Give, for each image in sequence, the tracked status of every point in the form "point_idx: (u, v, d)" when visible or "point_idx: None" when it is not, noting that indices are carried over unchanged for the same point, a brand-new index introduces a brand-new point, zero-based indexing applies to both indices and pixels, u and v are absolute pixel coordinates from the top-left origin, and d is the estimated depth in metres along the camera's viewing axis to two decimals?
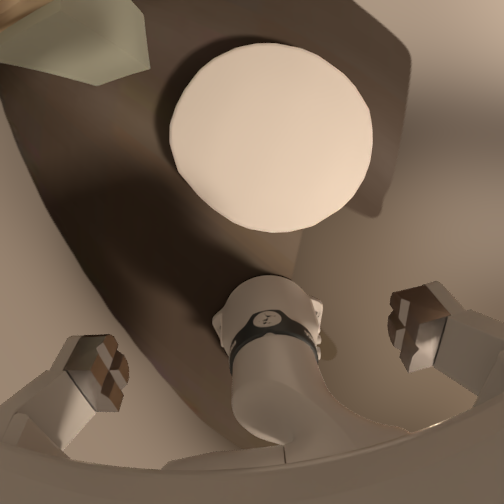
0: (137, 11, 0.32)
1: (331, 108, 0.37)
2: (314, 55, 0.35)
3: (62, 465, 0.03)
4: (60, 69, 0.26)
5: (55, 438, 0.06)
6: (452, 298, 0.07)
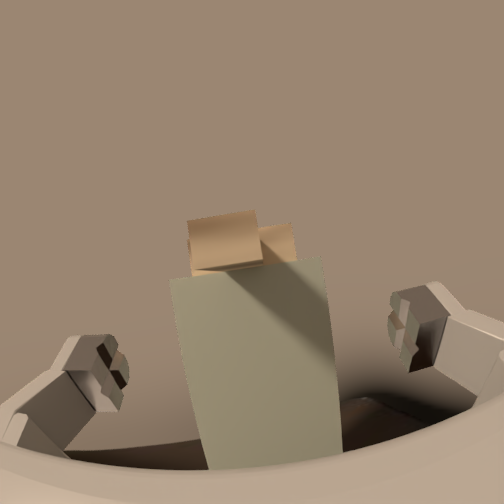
0: None
1: None
2: None
3: (62, 465, 0.03)
4: None
5: (55, 438, 0.06)
6: (452, 298, 0.07)
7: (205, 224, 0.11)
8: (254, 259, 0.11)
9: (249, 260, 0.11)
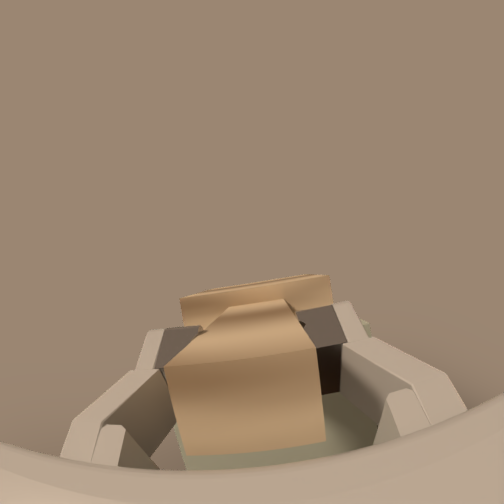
0: None
1: None
2: None
3: (62, 465, 0.03)
4: None
5: (142, 447, 0.06)
6: (360, 321, 0.07)
7: (204, 376, 0.05)
8: (309, 443, 0.05)
9: (299, 443, 0.05)
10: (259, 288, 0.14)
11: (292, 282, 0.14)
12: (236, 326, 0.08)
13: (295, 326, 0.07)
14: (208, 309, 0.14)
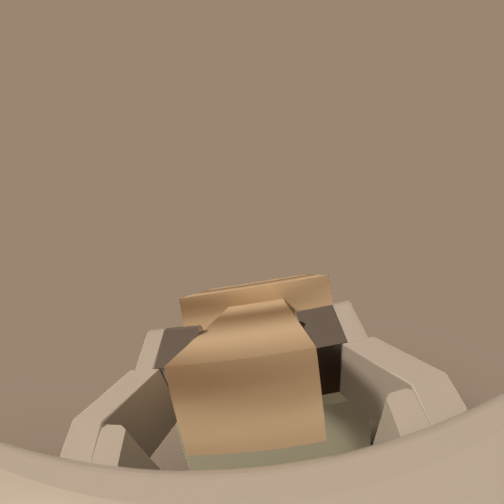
0: None
1: None
2: None
3: (62, 465, 0.03)
4: None
5: (142, 447, 0.06)
6: (360, 321, 0.07)
7: (204, 376, 0.05)
8: (309, 442, 0.05)
9: (299, 443, 0.05)
10: (259, 288, 0.14)
11: (292, 282, 0.14)
12: (236, 326, 0.08)
13: (295, 326, 0.07)
14: (207, 309, 0.14)
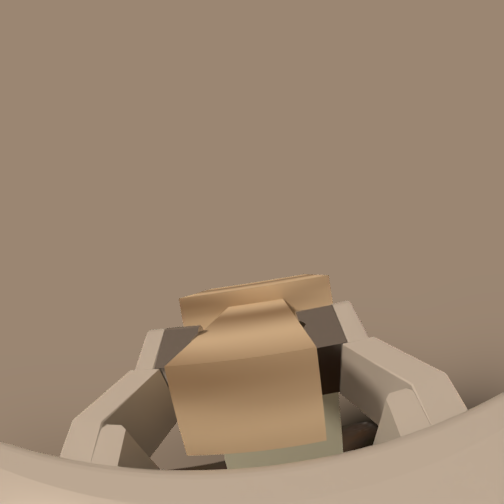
0: None
1: None
2: None
3: (62, 465, 0.03)
4: None
5: (141, 447, 0.06)
6: (360, 321, 0.07)
7: (205, 376, 0.05)
8: (310, 442, 0.05)
9: (299, 443, 0.05)
10: (258, 288, 0.14)
11: (291, 282, 0.14)
12: (236, 326, 0.08)
13: (295, 326, 0.07)
14: (207, 309, 0.14)
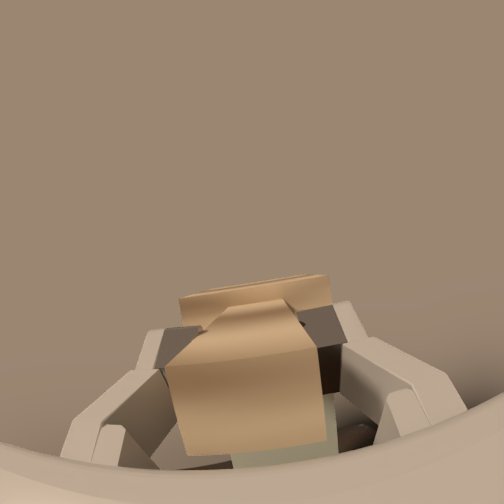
0: None
1: None
2: None
3: (62, 465, 0.03)
4: None
5: (142, 448, 0.06)
6: (360, 321, 0.07)
7: (205, 376, 0.05)
8: (310, 442, 0.05)
9: (299, 443, 0.05)
10: (258, 288, 0.14)
11: (291, 282, 0.14)
12: (236, 326, 0.08)
13: (295, 326, 0.07)
14: (207, 309, 0.14)
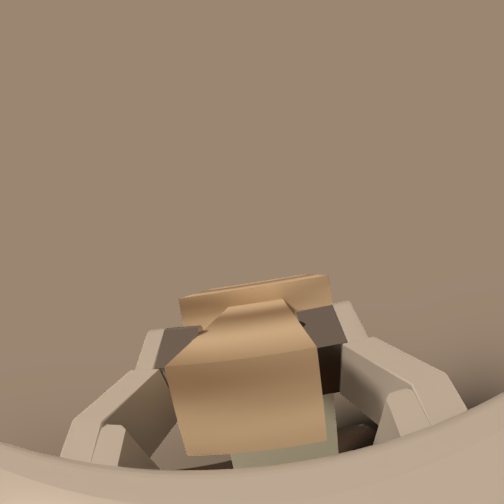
0: None
1: None
2: None
3: (62, 465, 0.03)
4: None
5: (142, 447, 0.06)
6: (360, 321, 0.07)
7: (205, 376, 0.05)
8: (310, 442, 0.05)
9: (299, 443, 0.05)
10: (258, 288, 0.14)
11: (291, 282, 0.14)
12: (236, 326, 0.08)
13: (295, 326, 0.07)
14: (207, 309, 0.14)
